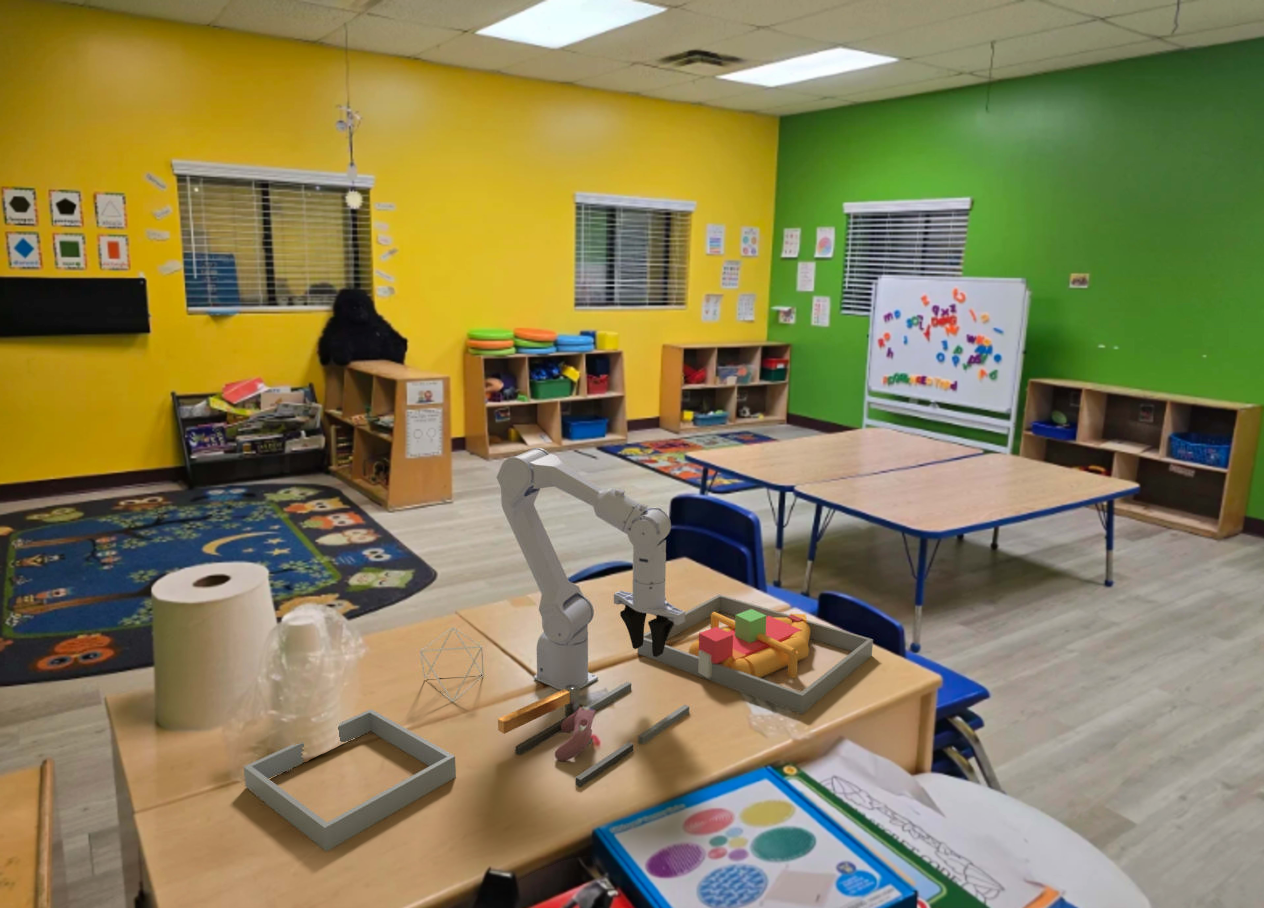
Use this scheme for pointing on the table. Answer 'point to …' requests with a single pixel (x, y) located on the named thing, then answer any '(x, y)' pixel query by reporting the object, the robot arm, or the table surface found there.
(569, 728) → the pink curved shape
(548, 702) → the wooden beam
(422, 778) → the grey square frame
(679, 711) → the dock
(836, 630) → the blocks bin frame
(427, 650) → the geometric polyhedron
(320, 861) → the table surface
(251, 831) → the table surface
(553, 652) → the robot arm
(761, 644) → the raft
